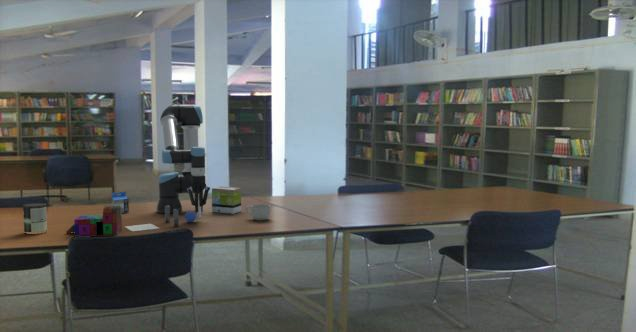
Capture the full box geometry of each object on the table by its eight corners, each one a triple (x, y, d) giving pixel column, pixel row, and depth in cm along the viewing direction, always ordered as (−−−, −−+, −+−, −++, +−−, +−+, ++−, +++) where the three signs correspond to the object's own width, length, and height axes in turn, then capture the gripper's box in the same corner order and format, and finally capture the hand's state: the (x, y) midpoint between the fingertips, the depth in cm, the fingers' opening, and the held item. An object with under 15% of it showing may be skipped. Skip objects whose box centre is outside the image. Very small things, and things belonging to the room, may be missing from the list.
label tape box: (114, 214, 324) (113, 193, 323) (111, 213, 327) (111, 192, 326) (129, 212, 330) (128, 192, 329) (126, 211, 333) (125, 191, 332)
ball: (194, 219, 305) (184, 222, 301) (191, 208, 303) (181, 212, 300) (198, 221, 300) (188, 225, 296) (196, 211, 298) (186, 214, 295)
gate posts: (164, 222, 300) (164, 205, 299) (169, 221, 302) (168, 205, 301) (174, 227, 287) (174, 209, 286) (179, 226, 289) (179, 209, 288)
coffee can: (20, 235, 267) (18, 206, 266) (29, 230, 277) (28, 202, 276) (42, 234, 268) (41, 206, 267) (50, 230, 278) (49, 202, 277)
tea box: (211, 212, 331) (211, 188, 330) (220, 209, 341) (220, 186, 339) (233, 214, 326) (233, 189, 324) (241, 211, 335) (241, 187, 334)
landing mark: (124, 226, 287) (124, 226, 287) (150, 224, 295) (150, 223, 295) (132, 231, 276) (132, 231, 276) (159, 228, 284) (159, 228, 284)
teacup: (273, 218, 312) (273, 204, 311) (265, 222, 302) (265, 207, 301) (251, 217, 317) (250, 203, 316) (242, 220, 306) (242, 206, 306)
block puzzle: (124, 228, 284) (123, 201, 283) (117, 235, 268) (116, 206, 266) (73, 229, 281) (72, 202, 280) (62, 237, 264) (61, 207, 263)
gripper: (189, 176, 294) (190, 220, 296) (212, 175, 302) (212, 217, 304) (184, 175, 300) (185, 218, 302) (206, 173, 308) (207, 215, 310)
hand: (199, 217), depth 303 cm, fingers closed
